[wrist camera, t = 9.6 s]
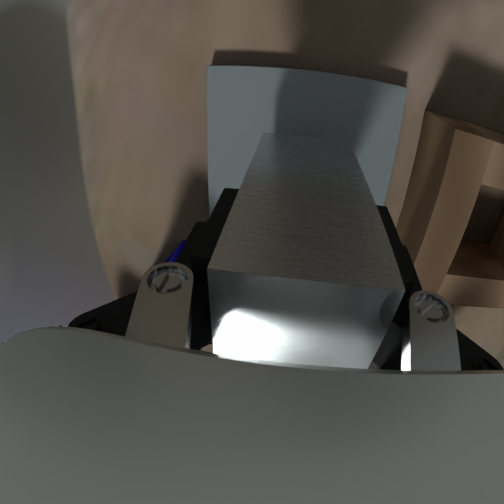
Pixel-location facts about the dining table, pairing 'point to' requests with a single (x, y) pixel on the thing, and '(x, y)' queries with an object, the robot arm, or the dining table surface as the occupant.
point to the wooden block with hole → (454, 211)
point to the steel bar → (303, 260)
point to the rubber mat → (299, 119)
